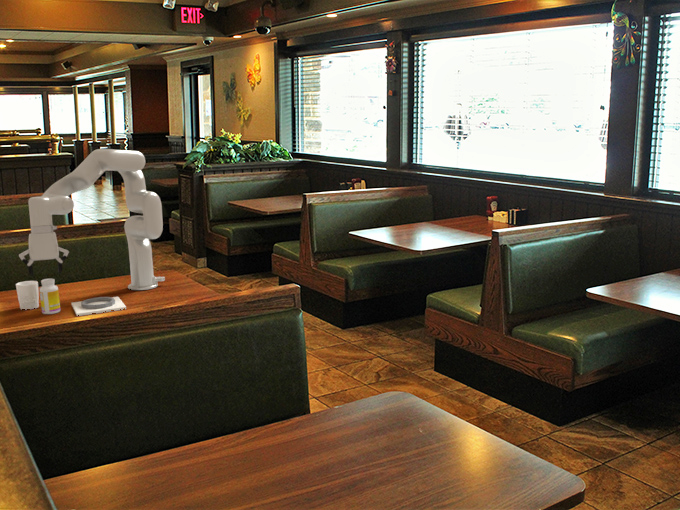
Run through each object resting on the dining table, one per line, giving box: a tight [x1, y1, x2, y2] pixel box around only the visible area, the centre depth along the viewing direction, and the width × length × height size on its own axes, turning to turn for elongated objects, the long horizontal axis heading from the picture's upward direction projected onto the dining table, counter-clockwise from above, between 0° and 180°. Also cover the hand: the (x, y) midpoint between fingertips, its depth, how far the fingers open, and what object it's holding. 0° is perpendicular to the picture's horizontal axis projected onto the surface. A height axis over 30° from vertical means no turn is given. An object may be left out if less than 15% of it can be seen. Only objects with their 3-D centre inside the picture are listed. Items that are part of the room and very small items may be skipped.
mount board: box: [71, 296, 127, 317], centre depth 261 cm, size 18×18×2 cm
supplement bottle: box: [38, 278, 62, 315], centre depth 254 cm, size 7×7×13 cm
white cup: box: [15, 280, 40, 311], centre depth 261 cm, size 8×8×10 cm
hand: (46, 274), depth 252 cm, fingers open, 9 cm apart
